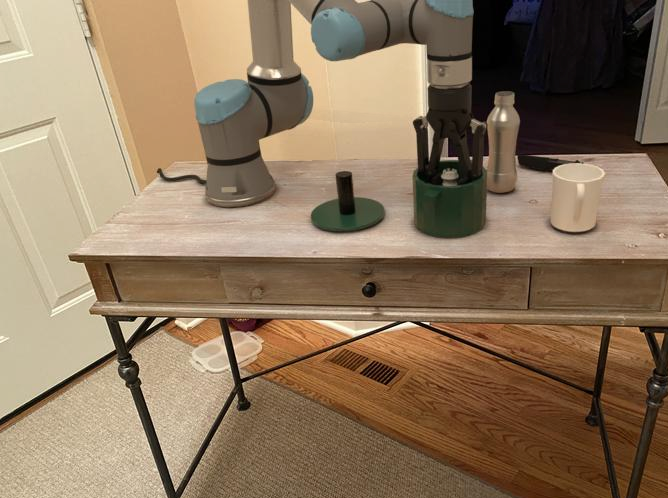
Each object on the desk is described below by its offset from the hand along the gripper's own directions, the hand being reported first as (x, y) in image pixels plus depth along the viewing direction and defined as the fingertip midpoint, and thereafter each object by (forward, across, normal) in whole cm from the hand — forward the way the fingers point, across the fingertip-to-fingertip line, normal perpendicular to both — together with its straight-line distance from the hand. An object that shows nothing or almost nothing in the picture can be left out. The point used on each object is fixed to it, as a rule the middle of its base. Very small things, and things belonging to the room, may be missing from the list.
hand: (449, 209), depth 116 cm
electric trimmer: (+3, +11, +32) cm, 34 cm away
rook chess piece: (0, 0, 0) cm, 0 cm away
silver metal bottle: (+3, +4, +18) cm, 19 cm away
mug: (+3, +22, +6) cm, 23 cm away
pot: (+3, 0, 0) cm, 3 cm away
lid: (+2, -20, -5) cm, 21 cm away
